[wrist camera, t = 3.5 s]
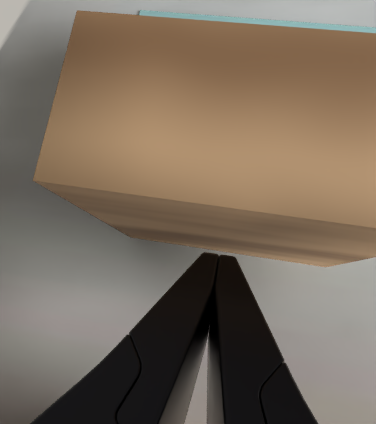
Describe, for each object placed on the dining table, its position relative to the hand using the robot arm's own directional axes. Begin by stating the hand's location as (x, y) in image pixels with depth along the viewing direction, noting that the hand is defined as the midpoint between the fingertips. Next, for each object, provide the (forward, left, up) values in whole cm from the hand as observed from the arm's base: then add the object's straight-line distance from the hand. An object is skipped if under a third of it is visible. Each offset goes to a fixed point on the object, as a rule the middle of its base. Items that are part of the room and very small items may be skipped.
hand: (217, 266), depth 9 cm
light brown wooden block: (+4, 0, -9) cm, 10 cm away
